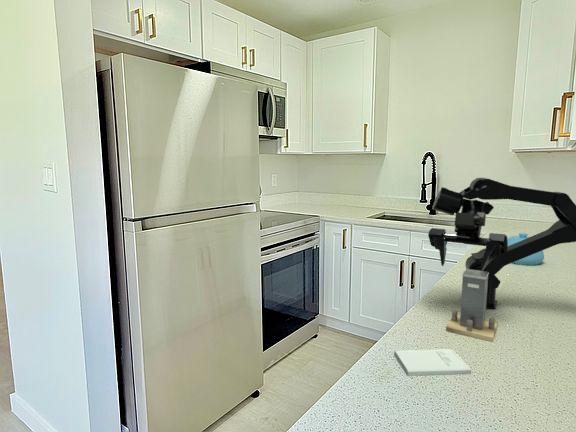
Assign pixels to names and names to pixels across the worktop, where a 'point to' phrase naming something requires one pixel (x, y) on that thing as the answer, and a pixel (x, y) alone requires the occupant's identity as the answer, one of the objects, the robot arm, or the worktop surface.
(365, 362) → the worktop surface
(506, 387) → the worktop surface
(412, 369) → the external hard drive
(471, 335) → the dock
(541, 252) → the sugar bowl
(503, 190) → the robot arm
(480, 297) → the tower
